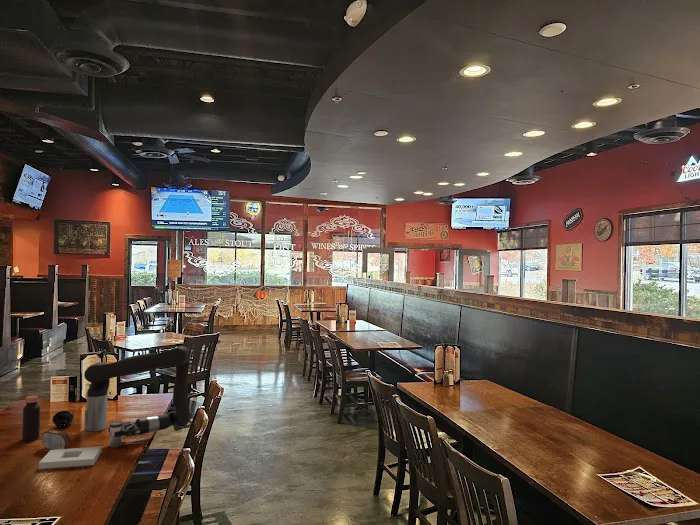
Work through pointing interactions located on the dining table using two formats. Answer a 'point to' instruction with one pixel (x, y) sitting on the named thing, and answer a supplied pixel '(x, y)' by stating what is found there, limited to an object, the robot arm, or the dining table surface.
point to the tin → (56, 440)
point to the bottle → (31, 419)
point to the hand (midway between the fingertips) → (111, 432)
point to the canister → (114, 427)
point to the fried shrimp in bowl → (62, 418)
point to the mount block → (70, 458)
